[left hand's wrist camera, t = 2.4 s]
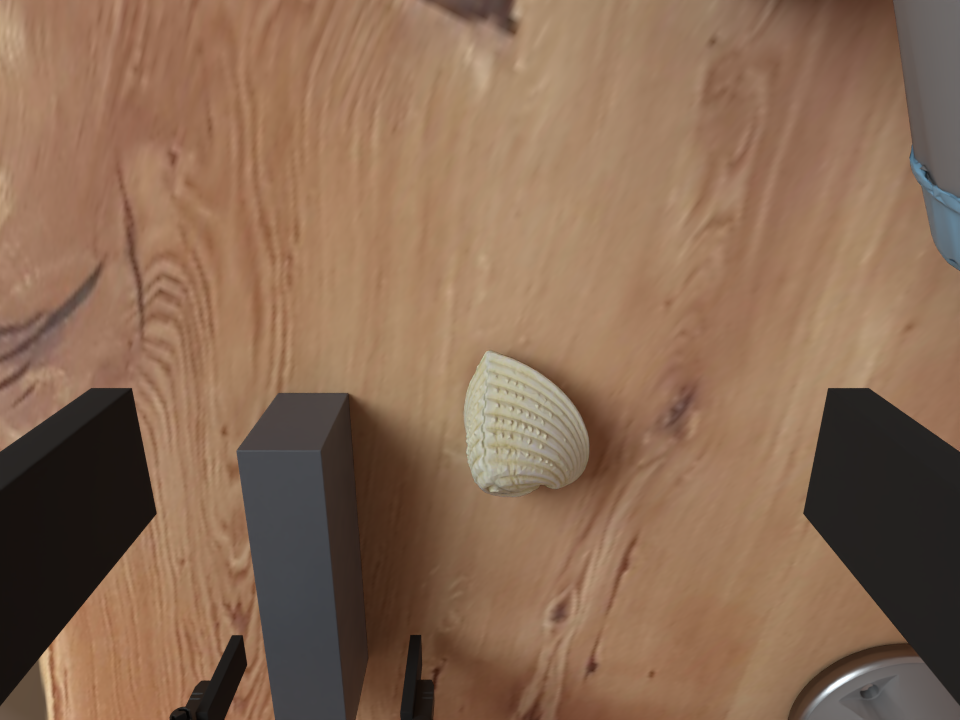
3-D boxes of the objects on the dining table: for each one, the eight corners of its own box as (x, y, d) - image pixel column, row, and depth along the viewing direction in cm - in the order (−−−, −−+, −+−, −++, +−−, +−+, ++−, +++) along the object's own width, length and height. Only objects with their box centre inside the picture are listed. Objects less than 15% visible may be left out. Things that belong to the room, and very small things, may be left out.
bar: (278, 392, 43) (235, 450, 36) (348, 392, 43) (320, 450, 36) (308, 657, 51) (279, 751, 43) (368, 658, 51) (349, 751, 43)
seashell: (487, 527, 44) (418, 484, 38) (497, 413, 48) (437, 360, 43) (603, 516, 40) (545, 467, 34) (602, 394, 44) (551, 332, 39)
